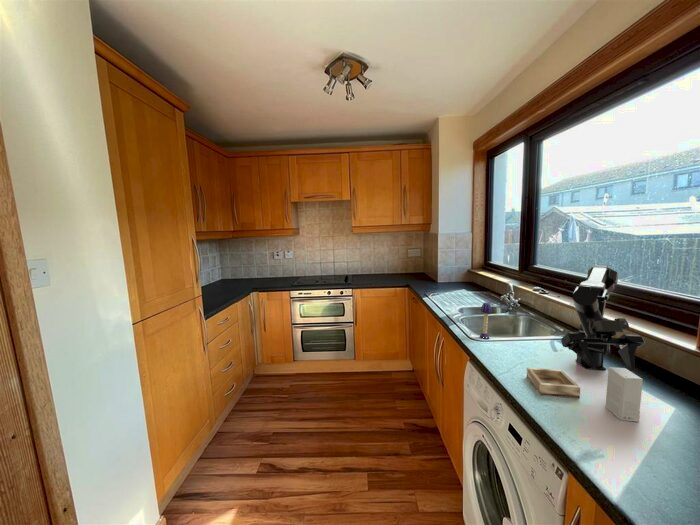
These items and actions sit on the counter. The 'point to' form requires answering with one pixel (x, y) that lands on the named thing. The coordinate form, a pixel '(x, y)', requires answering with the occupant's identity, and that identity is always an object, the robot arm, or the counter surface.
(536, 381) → the wooden tray
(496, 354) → the counter surface
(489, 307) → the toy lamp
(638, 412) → the skincare box
